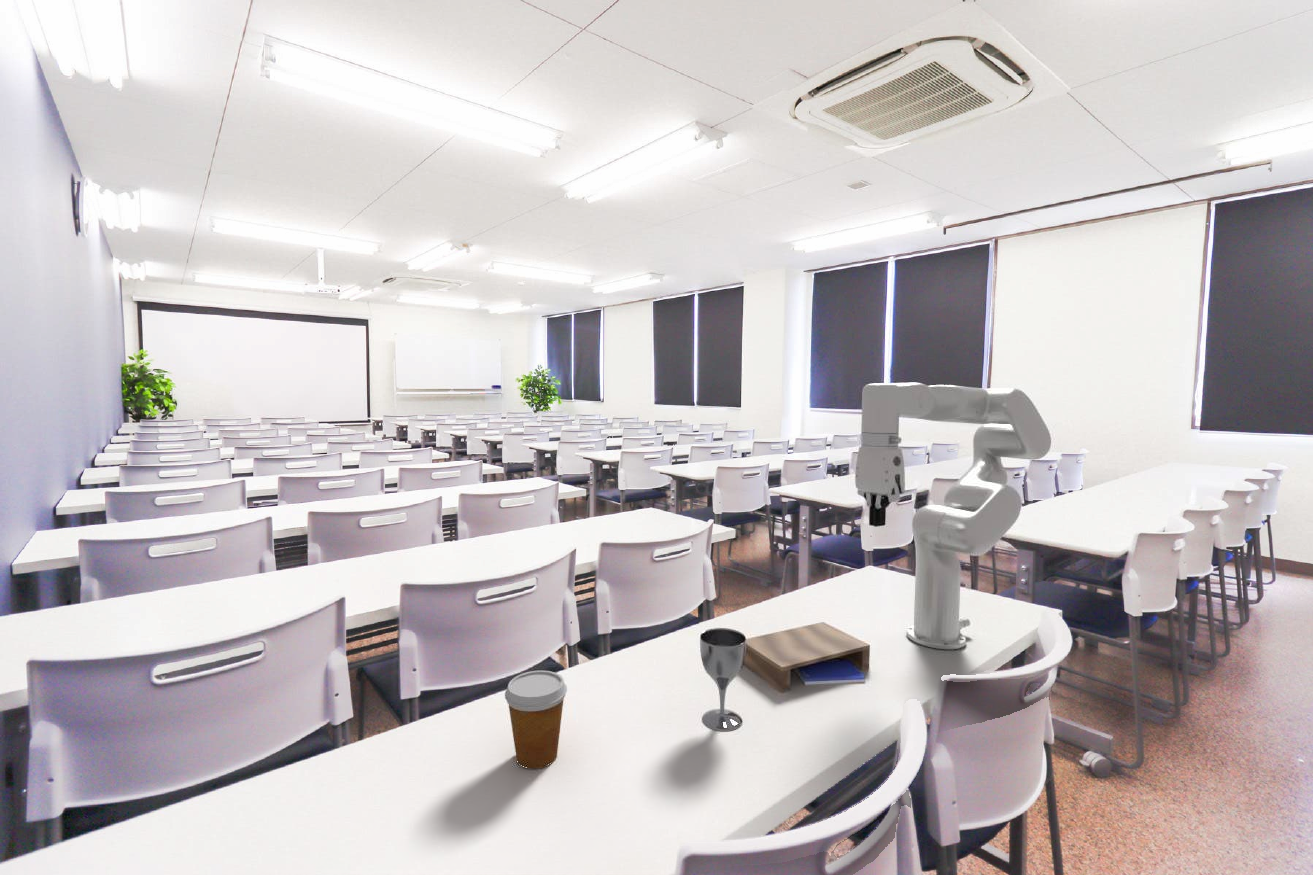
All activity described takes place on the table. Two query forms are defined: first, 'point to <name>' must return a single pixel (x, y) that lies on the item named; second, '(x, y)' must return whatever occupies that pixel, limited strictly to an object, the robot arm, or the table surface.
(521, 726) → the disposable coffee cup
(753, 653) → the wooden shelf
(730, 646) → the wine glass
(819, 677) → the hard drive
